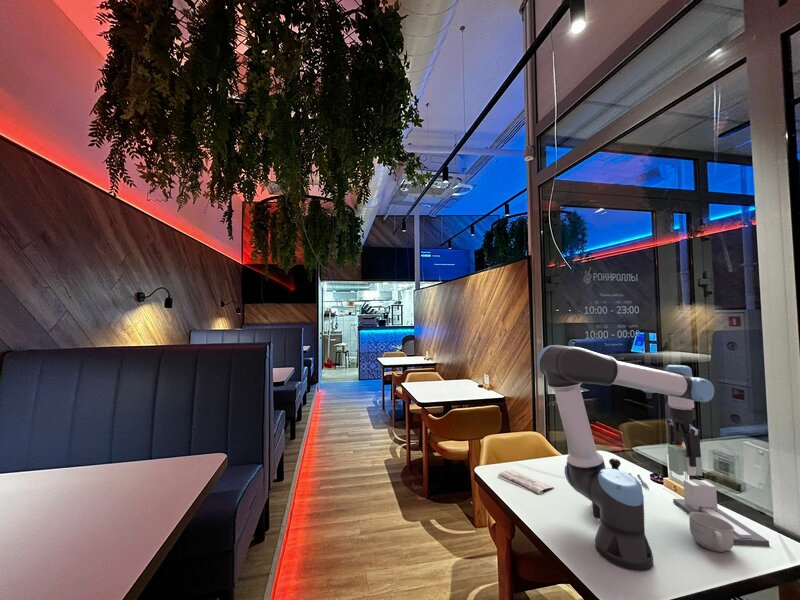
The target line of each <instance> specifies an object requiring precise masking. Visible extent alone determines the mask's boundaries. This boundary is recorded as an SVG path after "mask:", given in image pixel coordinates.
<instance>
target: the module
mask: <svg viewBox="0 0 800 600" xmlns="http://www.w3.org/2000/svg"><path fill="white" fill-rule="evenodd" d="M700 451H701V452H702V450H701V449H700ZM667 453H668V454H667V456H668V469H669V470H670V471H672V472H673V473H674V474H676V475H678V476H684V473H687V469H686V456H685V455H687V451H686V447H685V444H682V445H669V444H667ZM696 476H701V477H702V476H703V465H702V456H701V457H696Z"/></svg>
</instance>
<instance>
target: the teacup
mask: <svg viewBox="0 0 800 600" xmlns="http://www.w3.org/2000/svg"><path fill="white" fill-rule="evenodd" d="M688 516H689V531H690V534H691V536H692V538H694V539H695V540H696V541H697V543H698V544H699V545H701V546H702V547H704V548H706V549H709V550H711V551H713V552H714V551H715V552H718V553H719V552H720V553H723V552H727V551H730V550H732V549H733V548H734V547H733V546H734V544H733V541H734V527H733V526H732V525H731V524H730V523H728V522H727V521H725V520H723V519H721V518H718V517H716V516H713V515H710V514H707V513H702V512H691V513H689V514H688Z"/></svg>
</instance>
